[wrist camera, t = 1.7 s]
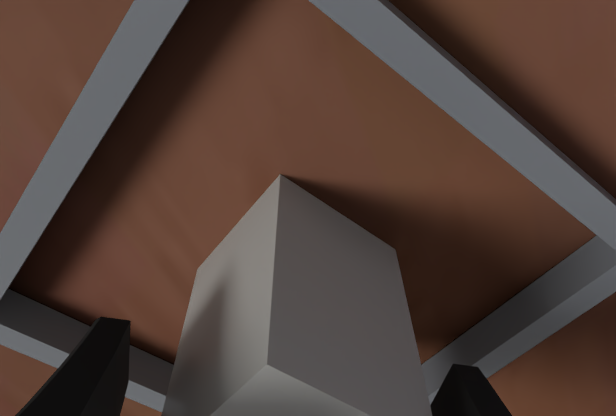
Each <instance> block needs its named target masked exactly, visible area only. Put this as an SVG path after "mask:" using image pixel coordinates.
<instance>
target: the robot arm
mask: <svg viewBox="0 0 616 416" xmlns="http://www.w3.org/2000/svg"><path fill="white" fill-rule="evenodd" d="M129 352H130V321H129V320H121V319H114V318H106V317H100V318H98V319H96V320H95V321H94V323H93V324H92V326H91V327H90V328H89V330H88V331H87V333H86V334H85V335H84V337H83V338H82V339H81V341H80V342H79V343H78V344H77V346H76V347H75V348H74V349H73V351H72V352H71V353H70V354H69V356H68V357H67V358H66V359H65V361H64V362H63V363H62V364H61V365H60V367H59V368H58V369H57V370H56V371H55V372H54V374H53V375H52V376H51V377H50V378H49V379H48V380H47V381H46V383H45V384H44V385H43V386H42V387H41V388H40V389H39V391H38V392H37V393H36V394H35V395H34V396H33V397H32V398H31V400H30V401H29V402H28V403H27V404H26V405H25V406H24V407H23V408H22V409H21V410H20V411H19V412H18V413H17V414H16V415H15V416H120V413H121V409H122V405H123V402H124V398H125V394H126V390H127V386H128V383H129ZM430 407H431V412H432V416H512V415H511V414H510V412H509V411H508V409H507V408H506V406H505V405H504V403H503V402H502V401H501V399H500V398H499V396H498V395H497V393H496V392H495V390H494V389H493V387H492V386H491V385H490V383H489V382H488V380H487V379H486V377H485V376H484V374H483V373H482V372H481V370H480V369H479V367H475V366H468V365H460V364H452V366H451V368H450V370H449V372H448V373H447V375H446V377H445V379H444V381H443V383H442V385H441V386H440V388H439V390H438V392H437V394H436V396H435V398H434V399H433V401H432V403H431V405H430Z"/></svg>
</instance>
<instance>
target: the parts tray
mask: <svg viewBox="0 0 616 416" xmlns="http://www.w3.org/2000/svg"><path fill="white" fill-rule="evenodd" d="M189 1H190V0H134V2H133V3H132V5H131V7H130V9H129V10H128V12H127V14H126V16H125V17H124V19H123V21H122V23H121V24H120V26H119V28H118V30H117V31H116V33H115V35H114V36H113V38H112V40H111V42H110V43H109V45H108V47H107V49H106V50H105V52H104V54H103V56H102V57H101V59H100V61H99V63H98V64H97V66H96V68H95V70H94V71H93V73H92V75H91V76H90V78H89V80H88V82H87V83H86V85H85V87H84V89H83V90H82V92H81V94H80V96H79V97H78V99H77V101H76V103H75V104H74V106H73V108H72V110H71V111H70V113H69V115H68V116H67V118H66V120H65V122H64V123H63V125H62V127H61V129H60V130H59V132H58V134H57V136H56V137H55V139H54V141H53V143H52V144H51V146H50V148H49V150H48V151H47V153H46V155H45V156H44V158H43V160H42V162H41V163H40V165H39V167H38V169H37V170H36V172H35V174H34V176H33V177H32V179H31V181H30V183H29V184H28V186H27V188H26V190H25V191H24V193H23V195H22V196H21V198H20V200H19V202H18V203H17V205H16V207H15V209H14V210H13V212H12V214H11V216H10V217H9V219H8V221H7V223H6V224H5V226H4V228H3V230H2V231H1V233H0V344H1V345H3V346H6V347H8V348H11V349H13V350H15V351H18V352H20V353H22V354H25V355H27V356H30V357H32V358H34V359H37V360H39V361H41V362H44V363H46V364H49V365H51V366H53V367H56V368H59V367H60V365H61V364H62V363H63V362H64V361H65V359H66V358H67V357H68V356H69V354H70V353H71V352H72V351H73V349H74V348H75V347H76V346H77V344H78V343H79V342H80V341H81V339H82V338H83V337H84V335H85V334H86V333H87V331H88V330H89V328H90V326H88V325H86V324H84V323H81V322H79V321H77V320H75V319H73V318H71V317H68V316H66V315H64V314H62V313H60V312H58V311H55V310H53V309H51V308H49V307H47V306H44V305H42V304H40V303H38V302H36V301H34V300H31V299H29V298H27V297H25V296H23V295H21V294H18V293H16V292H14V291H12V290H10V289H8V288H9V286H10V285H11V283H12V282H13V280H14V279H15V277H16V275H17V274H18V272H19V271H20V269H21V267H22V266H23V264H24V263H25V261H26V260H27V258H28V256H29V255H30V253H31V252H32V250H33V248H34V247H35V245H36V244H37V242H38V240H39V239H40V237H41V236H42V234H43V233H44V231H45V229H46V228H47V226H48V225H49V223H50V221H51V220H52V218H53V217H54V215H55V214H56V212H57V210H58V209H59V207H60V206H61V204H62V202H63V201H64V199H65V198H66V196H67V194H68V193H69V191H70V190H71V188H72V187H73V185H74V183H75V182H76V180H77V179H78V177H79V175H80V174H81V172H82V171H83V169H84V168H85V166H86V164H87V163H88V161H89V160H90V158H91V156H92V155H93V153H94V152H95V150H96V148H97V147H98V145H99V144H100V142H101V141H102V139H103V137H104V136H105V134H106V133H107V131H108V129H109V128H110V126H111V125H112V123H113V122H114V120H115V118H116V117H117V115H118V114H119V112H120V110H121V109H122V107H123V106H124V104H125V102H126V101H127V99H128V98H129V96H130V95H131V93H132V91H133V90H134V88H135V87H136V85H137V83H138V82H139V80H140V79H141V77H142V76H143V74H144V72H145V71H146V69H147V68H148V66H149V64H150V63H151V61H152V60H153V58H154V57H155V55H156V53H157V52H158V50H159V49H160V47H161V45H162V44H163V42H164V41H165V39H166V37H167V36H168V34H169V33H170V31H171V30H172V28H173V26H174V25H175V23H176V22H177V20H178V18H179V17H180V15H181V14H182V12H183V11H184V9H185V7H186V6H187V4H188V3H189ZM309 1H310V2H311V3H313V4H314V5H315V6H316V7H318V8H319V9H320V10H321V11H322V12H324V13H325V14H326V15H327V16H329V17H330V18H331V19H332V20H334V21H335V22H336V23H337V24H338V25H340V26H341V27H342V28H343V29H345V30H346V31H347V32H348V33H349V34H351V35H352V36H353V37H354V38H356V39H357V40H358V41H359V42H361V43H362V44H363V45H364V46H365V47H367V48H368V49H369V50H370V51H372V52H373V53H374V54H375V55H376V56H378V57H379V58H380V59H381V60H383V61H384V62H385V63H386V64H388V65H389V66H390V67H391V68H392V69H394V70H395V71H396V72H397V73H399V74H400V75H401V76H402V77H403V78H405V79H406V80H407V81H408V82H410V83H411V84H412V85H413V86H415V87H416V88H417V89H418V90H419V91H421V92H422V93H423V94H424V95H426V96H427V97H428V98H429V99H430V100H432V101H433V102H434V103H435V104H437V105H438V106H439V107H440V108H442V109H443V110H444V111H445V112H446V113H448V114H449V115H450V116H451V117H453V118H454V119H455V120H456V121H457V122H459V123H460V124H461V125H462V126H464V127H465V128H466V129H467V130H468V131H470V132H471V133H472V134H473V135H475V136H476V137H477V138H478V139H480V140H481V141H482V142H483V143H484V144H486V145H487V146H488V147H489V148H491V149H492V150H493V151H494V152H495V153H497V154H498V155H499V156H500V157H502V158H503V159H504V160H505V161H507V162H508V163H509V164H510V165H511V166H513V167H514V168H515V169H516V170H518V171H519V172H520V173H521V174H522V175H524V176H525V177H526V178H527V179H529V180H530V181H531V182H532V183H534V184H535V185H536V186H537V187H538V188H540V189H541V190H542V191H543V192H545V193H546V194H547V195H548V196H549V197H551V198H552V199H553V200H554V201H556V202H557V203H558V204H559V205H561V206H562V207H563V208H564V209H565V210H567V211H568V212H569V213H570V214H572V215H573V216H574V217H575V218H576V219H578V220H579V221H580V222H581V223H583V224H584V225H585V226H586V227H588V228H589V229H590V230H591V231H592V232H594V233H595V234H596V235H597V236H595V237H594V238H593V239H591V240H590V241H589V242H587V243H586V244H584V245H583V246H582V247H580V248H579V249H578V250H576V251H575V252H574V253H572V254H571V255H570V256H568V257H567V258H566V259H564V260H563V261H561V262H560V263H559V264H557V265H556V266H555V267H553V268H552V269H551V270H549V271H548V272H547V273H545V274H544V275H542V276H541V277H540V278H538V279H537V280H536V281H534V282H533V283H532V284H530V285H529V286H528V287H526V288H525V289H523V290H522V291H521V292H519V293H518V294H517V295H515V296H514V297H513V298H511V299H510V300H509V301H507V302H506V303H505V304H503V305H502V306H500V307H499V308H498V309H496V310H495V311H494V312H492V313H491V314H490V315H488V316H487V317H486V318H484V319H483V320H481V321H480V322H479V323H477V324H476V325H475V326H473V327H472V328H471V329H469V330H468V331H467V332H465V333H464V334H463V335H461V336H460V337H458V338H457V339H456V340H454V341H453V342H452V343H450V344H449V345H448V346H446V347H445V348H444V349H442V350H441V351H439V352H438V353H437V354H435V355H434V356H433V357H431V358H430V359H429V360H427V361H426V362H425V363H423V364H422V365H421V367H422V371H423V376H424V380H425V385H426V389H427V394H428V398H429V403H430V405H431V403H432V401H433V399H434V398H435V396H436V394H437V392H438V390H439V388H440V386H441V385H442V383H443V381H444V379H445V377H446V375H447V373H448V372H449V370H450V368H451V366H452V364H460V365H468V366H475V367H479V369H480V370H481V372H482V373H483V374H484V376H485V377H486V378H488V377H489V376H491V375H492V374H494V373H495V372H497V371H498V370H500V369H501V368H503V367H504V366H506V365H507V364H509V363H510V362H512V361H513V360H515V359H516V358H518V357H519V356H521V355H522V354H524V353H525V352H527V351H528V350H530V349H531V348H533V347H534V346H536V345H537V344H539V343H540V342H542V341H543V340H544V339H546V338H547V337H549V336H550V335H552V334H553V333H555V332H556V331H558V330H559V329H561V328H562V327H564V326H565V325H567V324H568V323H570V322H571V321H573V320H574V319H576V318H577V317H579V316H580V315H582V314H583V313H585V312H586V311H588V310H589V309H591V308H592V307H594V306H595V305H597V304H598V303H600V302H601V301H603V300H604V299H606V298H607V297H609V296H610V295H612V294H613V293H614V292H616V199H615V198H614V197H613V196H612V195H611V194H609V193H608V192H607V191H606V190H605V189H604V188H603V187H601V186H600V185H599V184H598V183H597V182H596V181H595V180H593V179H592V178H591V177H590V176H589V175H588V174H586V173H585V172H584V171H583V170H582V169H581V168H580V167H578V166H577V165H576V164H575V163H574V162H573V161H572V160H570V159H569V158H568V157H567V156H566V155H565V154H564V153H562V152H561V151H560V150H559V149H558V148H557V147H556V146H554V145H553V144H552V143H551V142H550V141H549V140H548V139H546V138H545V137H544V136H543V135H542V134H541V133H539V132H538V131H537V130H536V129H535V128H534V127H533V126H531V125H530V124H529V123H528V122H527V121H526V120H525V119H523V118H522V117H521V116H520V115H519V114H518V113H517V112H515V111H514V110H513V109H512V108H511V107H510V106H509V105H507V104H506V103H505V102H504V101H503V100H502V99H501V98H499V97H498V96H497V95H496V94H495V93H494V92H492V91H491V90H490V89H489V88H488V87H487V86H486V85H484V84H483V83H482V82H481V81H480V80H479V79H478V78H476V77H475V76H474V75H473V74H472V73H471V72H470V71H468V70H467V69H466V68H465V67H464V66H463V65H462V64H460V63H459V62H458V61H457V60H456V59H455V58H454V57H452V56H451V55H450V54H449V53H448V52H447V51H446V50H444V49H443V48H442V47H441V46H440V45H439V44H437V43H436V42H435V41H434V40H433V39H432V38H431V37H429V36H428V35H427V34H426V33H425V32H424V31H423V30H421V29H420V28H419V27H418V26H417V25H416V24H415V23H413V22H412V21H411V20H410V19H409V18H408V17H407V16H405V15H404V14H403V13H402V12H401V11H400V10H399V9H397V8H396V7H395V6H394V5H393V4H392V3H390V2H389V1H388V0H309ZM173 367H174V365H173V364H170V363H168V362H166V361H164V360H162V359H160V358H157V357H155V356H153V355H151V354H149V353H147V352H144V351H142V350H140V349H138V348H136V347H134V346H131V345H130V352H129V383H128V386H127V390H126V394H125V397H127V398H129V399H132V400H134V401H136V402H139V403H141V404H143V405H146V406H148V407H151V408H153V409H155V410H158V411H160V412H162V411H163V407H164V403H165V399H166V395H167V391H168V387H169V383H170V379H171V375H172V371H173Z"/></svg>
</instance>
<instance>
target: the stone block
mask: <svg viewBox="0 0 616 416" xmlns="http://www.w3.org/2000/svg"><path fill="white" fill-rule="evenodd" d="M161 416H432V412H431V407H430V403H429V398H428V394H427V389H426V385H425V380H424V376H423V371H422V367H421V362H420V358H419V353H418V349H417V344H416V340H415V335H414V331H413V326H412V322H411V317H410V313H409V308H408V304H407V299H406V295H405V290H404V286H403V281H402V277H401V272H400V268H399V263H398V259H397V254H396V250H395V249H394V248H392V247H391V246H389V245H388V244H386V243H385V242H383V241H382V240H380V239H379V238H377V237H376V236H374V235H373V234H371V233H369V232H368V231H366V230H365V229H363V228H362V227H360V226H359V225H357V224H356V223H354V222H353V221H351V220H350V219H348V218H347V217H345V216H343V215H342V214H340V213H339V212H337V211H336V210H334V209H333V208H331V207H330V206H328V205H327V204H325V203H324V202H322V201H321V200H319V199H318V198H316V197H314V196H313V195H311V194H310V193H308V192H307V191H305V190H304V189H302V188H301V187H299V186H298V185H296V184H295V183H293V182H292V181H290V180H288V179H287V178H285V177H284V176H282V175H281V174H280V175H279V176H278V177H277V179H276V180H275V181H274V182H273V183H272V184H271V185H270V187H269V188H268V189H267V190H266V191H265V192H264V193H263V195H262V196H261V197H260V198H259V199H258V200H257V201H256V203H255V204H254V205H253V206H252V207H251V208H250V210H249V211H248V212H247V213H246V214H245V215H244V216H243V218H242V219H241V220H240V221H239V222H238V223H237V224H236V226H235V227H234V228H233V229H232V230H231V231H230V232H229V234H228V235H227V236H226V237H225V238H224V239H223V240H222V242H221V243H220V244H219V245H218V246H217V247H216V249H215V250H214V251H213V252H212V253H211V254H210V255H209V257H208V258H207V259H206V260H205V261H204V262H203V263H202V265H201V266H200V267H199V268H198V270H197V274H196V278H195V282H194V286H193V290H192V294H191V298H190V302H189V306H188V310H187V314H186V318H185V322H184V326H183V330H182V334H181V338H180V342H179V346H178V350H177V355H176V359H175V363H174V367H173V371H172V375H171V379H170V383H169V387H168V391H167V395H166V399H165V403H164V407H163V411H162V415H161Z"/></svg>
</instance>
